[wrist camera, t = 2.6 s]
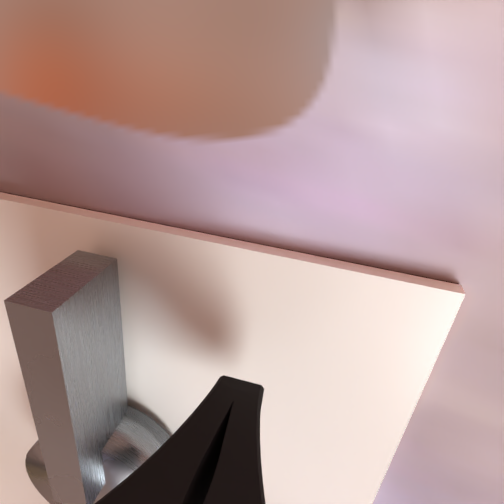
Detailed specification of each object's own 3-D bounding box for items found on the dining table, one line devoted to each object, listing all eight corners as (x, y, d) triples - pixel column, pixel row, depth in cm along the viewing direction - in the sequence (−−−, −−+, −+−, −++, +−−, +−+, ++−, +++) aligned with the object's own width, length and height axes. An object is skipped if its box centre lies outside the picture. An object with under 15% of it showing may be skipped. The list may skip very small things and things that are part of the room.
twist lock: (180, 504, 18) (149, 585, 15) (68, 467, 19) (19, 537, 16) (187, 270, 12) (136, 334, 9) (21, 233, 13) (-71, 281, 10)
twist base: (318, 614, 21) (317, 628, 21) (-18, 495, 25) (-26, 504, 24) (461, 284, 11) (466, 296, 10) (-152, 161, 14) (-170, 165, 14)
